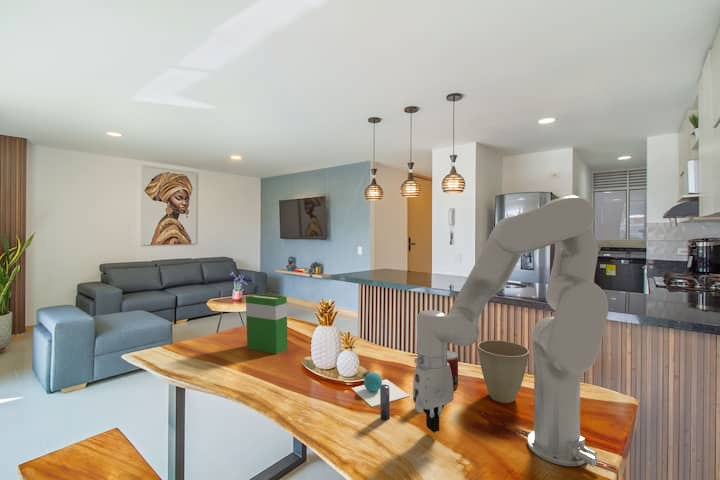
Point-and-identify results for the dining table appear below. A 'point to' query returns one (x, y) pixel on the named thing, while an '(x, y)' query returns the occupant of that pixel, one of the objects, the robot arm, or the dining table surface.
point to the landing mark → (374, 397)
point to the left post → (384, 402)
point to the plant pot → (503, 368)
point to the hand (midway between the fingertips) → (432, 429)
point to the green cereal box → (267, 323)
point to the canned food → (453, 367)
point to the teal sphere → (372, 382)
